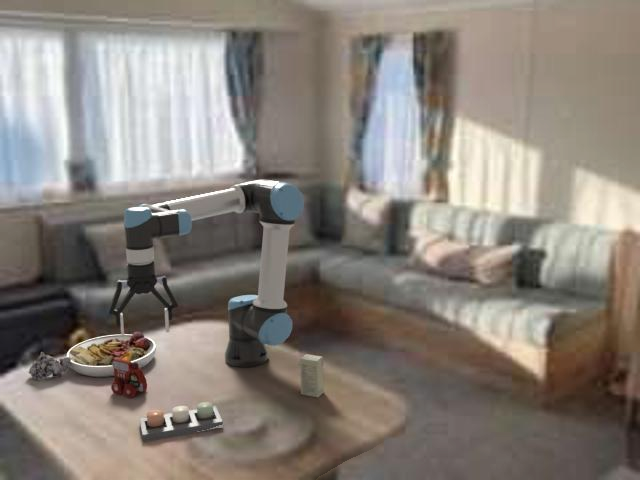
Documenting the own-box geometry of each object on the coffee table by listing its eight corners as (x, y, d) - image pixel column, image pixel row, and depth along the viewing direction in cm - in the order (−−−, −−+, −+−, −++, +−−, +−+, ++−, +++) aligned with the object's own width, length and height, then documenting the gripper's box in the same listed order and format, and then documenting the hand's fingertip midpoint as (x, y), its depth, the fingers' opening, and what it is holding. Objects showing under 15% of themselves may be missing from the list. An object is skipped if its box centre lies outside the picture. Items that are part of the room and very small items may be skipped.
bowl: (108, 388, 215) (106, 365, 213) (49, 368, 231) (47, 347, 229) (174, 357, 240) (173, 336, 238) (116, 341, 255) (115, 321, 254)
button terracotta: (163, 417, 190) (162, 408, 189) (164, 425, 186) (164, 415, 185) (146, 420, 188) (145, 411, 188) (148, 427, 184) (147, 418, 184)
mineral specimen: (76, 362, 225) (56, 342, 221) (63, 382, 218) (41, 361, 214) (53, 373, 230) (32, 353, 227) (39, 392, 223) (18, 372, 219)
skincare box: (324, 392, 211) (324, 356, 208) (318, 398, 207) (318, 361, 204) (306, 388, 213) (305, 353, 211) (299, 394, 210) (299, 358, 207)
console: (216, 412, 198) (215, 406, 198) (222, 427, 189) (222, 421, 188) (139, 424, 191) (139, 418, 190) (143, 441, 182) (142, 434, 181)
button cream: (187, 413, 192) (187, 404, 192) (190, 420, 188) (189, 411, 187) (171, 416, 191) (171, 407, 190) (173, 423, 186) (173, 414, 186)
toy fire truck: (137, 400, 206) (135, 369, 204) (107, 392, 211) (105, 362, 209) (152, 391, 212) (150, 361, 210) (122, 384, 217) (120, 354, 215)
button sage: (211, 409, 195) (211, 400, 194) (214, 416, 190) (214, 407, 190) (195, 412, 193) (195, 403, 192) (198, 419, 189) (198, 410, 188)
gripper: (181, 255, 197) (185, 324, 202) (95, 262, 189) (101, 333, 194) (185, 261, 190) (189, 332, 195) (96, 268, 182) (102, 342, 187)
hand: (145, 333), depth 194 cm, fingers open, 12 cm apart
